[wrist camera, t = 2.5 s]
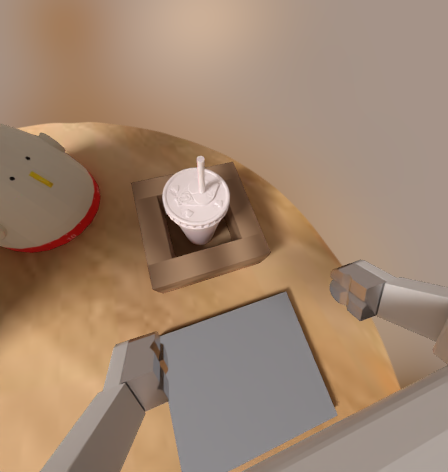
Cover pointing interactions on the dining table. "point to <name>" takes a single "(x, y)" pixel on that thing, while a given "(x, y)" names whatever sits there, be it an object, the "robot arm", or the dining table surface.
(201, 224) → the smoothie
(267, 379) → the rubber mat
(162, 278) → the holder collar
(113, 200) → the dining table surface
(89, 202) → the kitchen timer
